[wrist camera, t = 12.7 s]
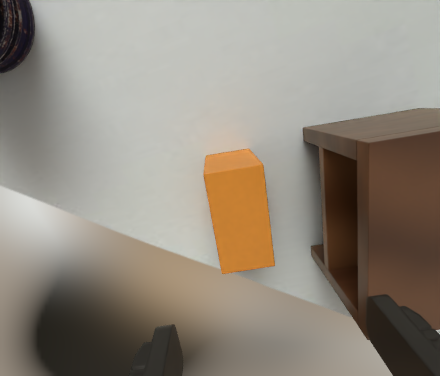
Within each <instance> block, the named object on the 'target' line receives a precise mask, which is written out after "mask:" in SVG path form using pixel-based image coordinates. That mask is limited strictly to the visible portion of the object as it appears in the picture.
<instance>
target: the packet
mask: <svg viewBox="0 0 440 376" xmlns="http://www.w3.org/2000/svg"><path fill="white" fill-rule="evenodd" d="M204 180H205V185H206V191H207V196H208V201H209V207H210V212H211V218H212V223H213V228H214V234H215V239H216V244H217V250H218V255H219V261H220V266H221V271H222V274H226V273H233V272H239V271H245V270H252V269H258V268H264V267H271V266H275V262H274V253H273V245H272V236H271V227H270V219H269V210H268V201H267V193H266V184H265V176H264V167H263V164H262V163H261V162H260V160H259V159H258V158H257V157H256V156H255V155H254V154H253V153H252V151H251V150H250V149H243V150H237V151H231V152H225V153H219V154H213V155H207V156H206V158H205V166H204Z"/></svg>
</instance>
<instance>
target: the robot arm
mask: <svg viewBox="0 0 440 376" xmlns="http://www.w3.org/2000/svg"><path fill="white" fill-rule="evenodd" d="M366 331H367V334H368V337H369V339H370V341H371V343H372V344H373V346H374V347H375V349H376V350H377V352H378V353H379V355H380V356H381V358H382V359H383V361H384V363H385V364H386V365H387V367H388V369H389V370H390V372H391V373H392V375H393V376H440V335H439V333H438V332H437V331H436V330H435V329H432V326H431V325H430V324H429V323H428V322H427V321H426V320H425V319H424V318H423V317H422V316H421V315H420V314H418V313H416V312H415V311H413V310H411V309H410V308H408V307H406V306H400V307H399V306H398V305H397V303H396V302H395V301H394V300H393V299H392V298H391V297H390V296H389V295H387V294H382V295H376V296H369V297H367V298H366ZM182 371H183V355H182V350H181V346H180V342H179V338H178V334H177V331H176V327H175V325H166V326H160V327H156V328H155V331H154V335H153V339H152V342H146V343H144V344H143V345H142V346H141V348H140V349H139V351H138V352H137V353H136V355H135V358H134V361H133V364H132V367H131V372H130V373H129V376H182Z"/></svg>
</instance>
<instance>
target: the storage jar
mask: <svg viewBox="0 0 440 376" xmlns="http://www.w3.org/2000/svg"><path fill="white" fill-rule="evenodd" d="M34 27H35V26H34V17H33V12H32V8H31V5H30V2H29V0H0V73H4V72H7V71H10V70H12V69H14V68H15V67H17V66H18V65H19V64H20V63H21V62H22V61H23V60H24V59H25V58H26V56H27V55H28V53H29V51H30V49H31V46H32V43H33V38H34Z"/></svg>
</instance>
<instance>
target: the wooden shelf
mask: <svg viewBox="0 0 440 376" xmlns="http://www.w3.org/2000/svg"><path fill="white" fill-rule="evenodd" d="M303 135H304V141H306V142H308V143H311V144H314V145H316V146H319V163H320V183H321V203H322V223H323V242H324V244H321V245H314V246H311V255H312V257H313V259H314V260H315V262H316V263H317V265H318V266H319V268H320V269H321V271H322V272H323V274H324V275H325V277H326V278H327V280H328V281H329V283H330V284H331V286H332V287H333V289H334V290H335V292H336V293H337V295H338V296H339V298H340V299H341V301H342V302H343V304H344V305H345V307H346V308H347V310H348V311H349V313H350V314H351V316H352V317H353V319H354V320H355V321H356V323H357V324H358V326H359V328H360V329H361V331H362V332H363V334H364V335H365V337H366V338H367V340H370V339H369V337H368V334H367V331H366V298H367V297H369V296H376V295H382V294H387V295H389V296H390V297H391V298H392V299H393V300H394V301H395V302H396V303H397V305H398V306H399V307H400V306H406V307H408V308H410V309H411V310H413V311H415V312H416V313H418V314H420V315H421V316H422V317H423V318H424V319H425V320H426V321H427V322H428V323H429V324H430V325H431V326H432V329H435V330H439V329H440V108H418V109H412V110H406V111H400V112H394V113H388V114H382V115H376V116H370V117H364V118H358V119H352V120H346V121H340V122H334V123H328V124H322V125H316V126H310V127H304V128H303Z"/></svg>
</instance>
